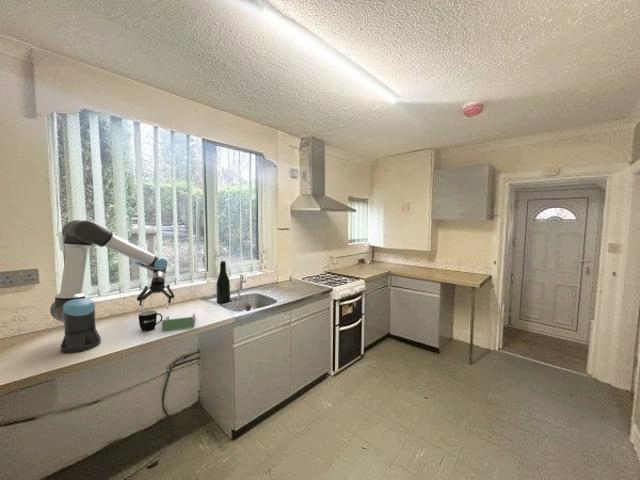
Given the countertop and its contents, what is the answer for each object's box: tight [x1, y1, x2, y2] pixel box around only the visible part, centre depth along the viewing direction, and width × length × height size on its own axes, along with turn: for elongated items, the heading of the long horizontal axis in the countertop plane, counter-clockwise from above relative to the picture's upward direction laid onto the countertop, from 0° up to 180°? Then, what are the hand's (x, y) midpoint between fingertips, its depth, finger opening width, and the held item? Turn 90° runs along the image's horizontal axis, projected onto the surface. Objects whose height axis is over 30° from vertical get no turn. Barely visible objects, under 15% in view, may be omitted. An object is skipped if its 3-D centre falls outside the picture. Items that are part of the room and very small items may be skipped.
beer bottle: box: [215, 260, 231, 304], centre depth 209 cm, size 10×10×33 cm
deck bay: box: [161, 313, 196, 332], centre depth 162 cm, size 16×16×6 cm
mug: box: [138, 309, 163, 332], centre depth 155 cm, size 12×9×10 cm
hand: (154, 309), depth 160 cm, fingers open, 13 cm apart
